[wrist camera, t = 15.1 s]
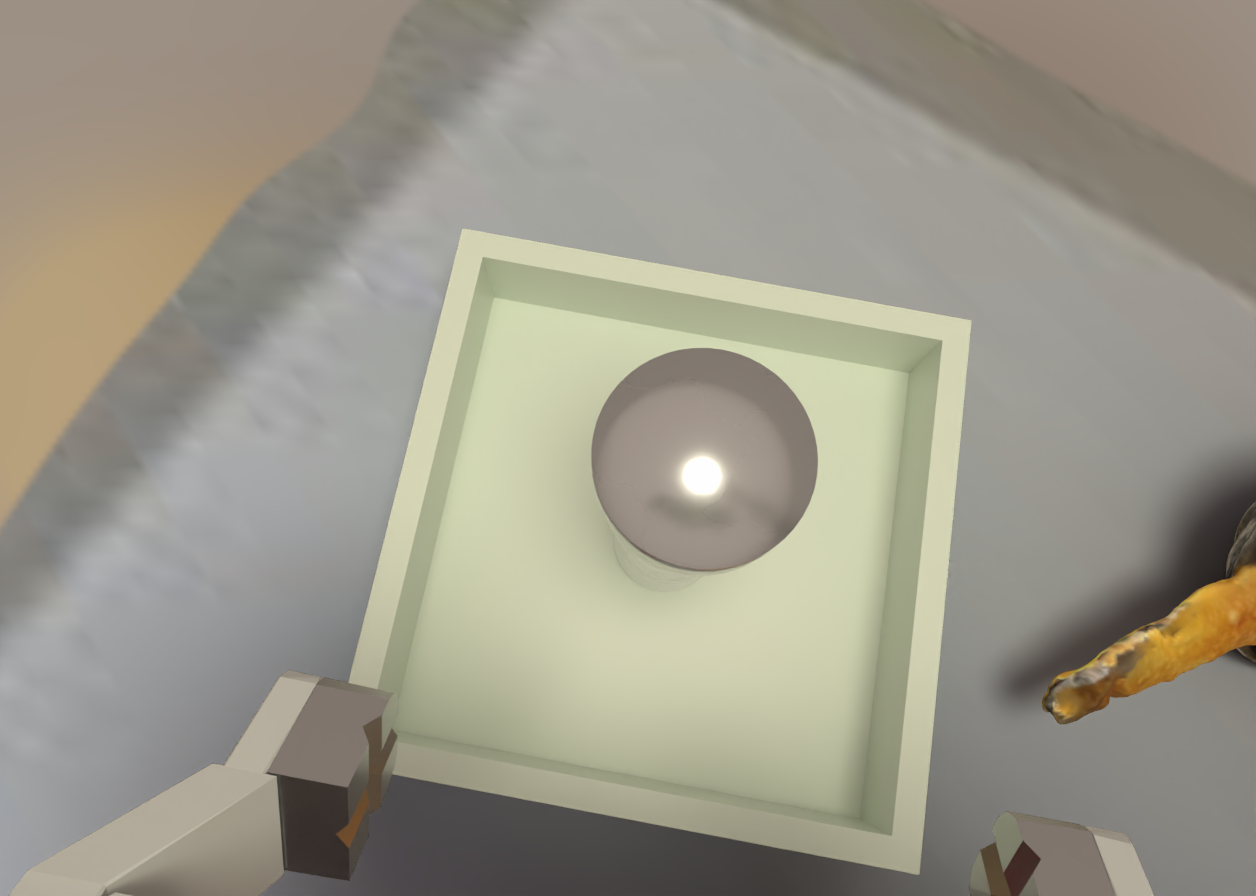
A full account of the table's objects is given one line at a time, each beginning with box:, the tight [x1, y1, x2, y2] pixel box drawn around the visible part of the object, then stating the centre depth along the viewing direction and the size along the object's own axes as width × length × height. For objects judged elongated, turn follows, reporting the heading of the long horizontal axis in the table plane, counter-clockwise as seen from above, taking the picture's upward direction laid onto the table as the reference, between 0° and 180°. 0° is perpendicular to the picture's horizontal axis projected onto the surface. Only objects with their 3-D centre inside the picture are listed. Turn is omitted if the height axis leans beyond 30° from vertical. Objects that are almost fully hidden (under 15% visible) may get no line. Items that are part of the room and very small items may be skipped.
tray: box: [348, 229, 971, 875], centre depth 27 cm, size 16×16×4 cm
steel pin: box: [591, 348, 818, 592], centre depth 23 cm, size 4×4×11 cm
